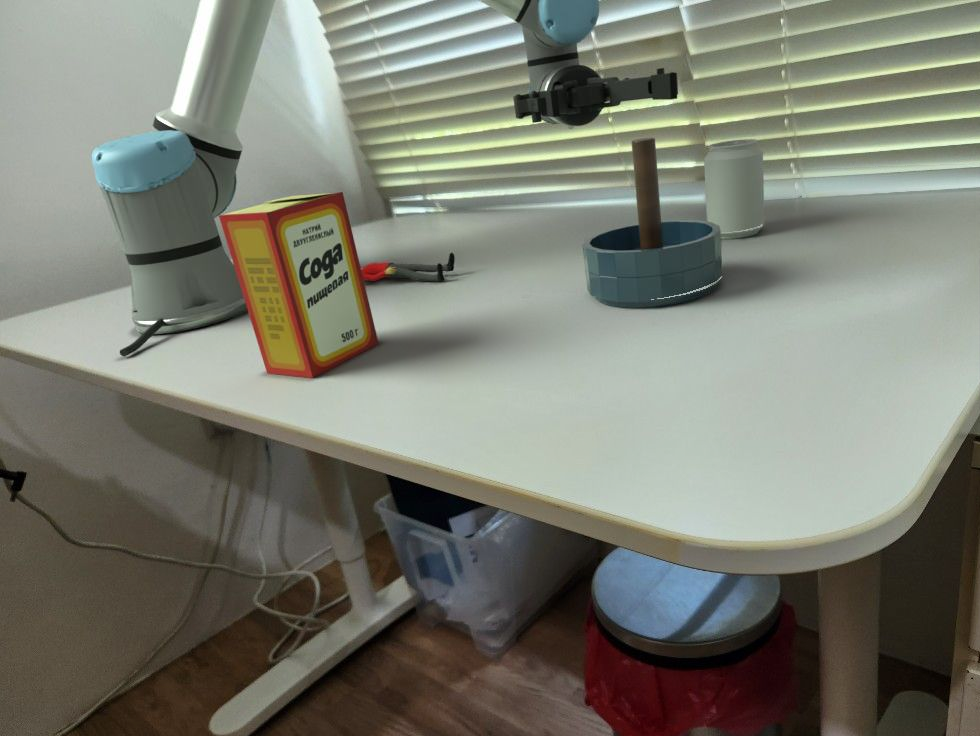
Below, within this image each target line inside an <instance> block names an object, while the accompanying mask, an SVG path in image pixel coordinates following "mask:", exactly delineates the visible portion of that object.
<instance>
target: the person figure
mask: <svg viewBox="0 0 980 736" xmlns="http://www.w3.org/2000/svg"><path fill="white" fill-rule="evenodd" d="M455 260H456V258H455V254H454V252H450V253H449V256H448V262H447V263H445V264H442V263H440V262H438V263H437V264H422V263H408V262H406V263H394V262H371V263H368V264H365V266H363V267H361V271H362V275H363V280H364V281H370V282H371V281H373V282H377V281H379V280H380V279H382V278H388V279H396V278H404V279H405V278H406V279H412V280H415V281H420V282H421V281H422V282H423V281H424V282H444V281H445V275H444V272H453V271H454V269H455V262H456V261H455ZM432 273H433V274H432Z"/></svg>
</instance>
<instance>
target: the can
mask: <svg viewBox="0 0 980 736" xmlns="http://www.w3.org/2000/svg"><path fill="white" fill-rule="evenodd" d="M758 141H759V140H758V139H755V138H744V139H733V140H725V141H720V142H715V143H712V144H709V145H708V146H707V148H708V149H709V151H708V152H707V153H706V155H705V156H704V157H703V167H704V168H703V169H704V170H703V171H704V187H705V188H704V189H705V207H706V208H705V209H706V222H712V223H714V224H716V225H718V226H720V231H721V232H732V233H721V240H722V239H725V240H732V239H743V238H748V237H752V236H755V235H757V234H758V233H759V231H760V230H761V229H762V228H763V227H764V226H765V185H764V184H765V183H764V151H763V150H762V149H761V148H760V147H759V146H758V145H757V144H758ZM763 223H764V225H763V226H762V227H760V228H756V229H753V230H748V231H742V232H733V231H741V230H746V229H750V228H754V227H757V226H760V225H761V224H763Z"/></svg>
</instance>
